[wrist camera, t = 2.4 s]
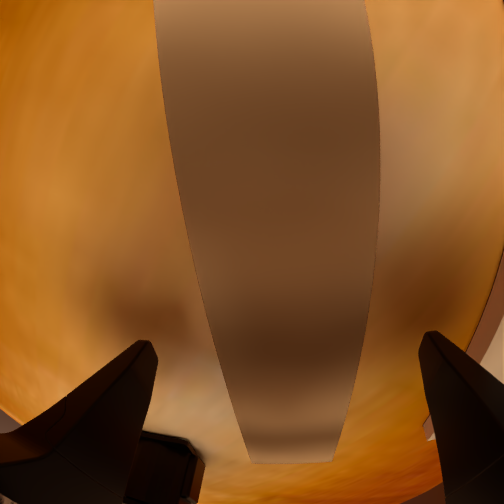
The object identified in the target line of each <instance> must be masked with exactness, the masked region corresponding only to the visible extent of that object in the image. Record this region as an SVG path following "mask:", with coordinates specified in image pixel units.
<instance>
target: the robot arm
mask: <svg viewBox="0 0 504 504" xmlns="http://www.w3.org/2000/svg"><path fill="white" fill-rule="evenodd" d="M418 356H419V361H420V367H421V372H422V378H423V384H424V391H425V396H426V400H427V404H428V408H429V412H430V416H431V420H432V424H433V429H434V433H435V438H436V443H437V448H438V453H439V459H440V465H441V471H442V477H443V484H444V492H445V497H446V498H445V501H446V504H504V384H503V383H502V382H500V381H499V380H498V379H497V378H496V377H494V376H493V375H492V374H491V373H490V372H488V371H487V370H486V369H485V368H484V367H482V366H481V365H480V364H479V363H477V362H476V361H475V360H474V359H473V358H471V357H470V356H469V355H468V354H466V353H465V352H464V351H463V350H461V349H460V348H459V347H457V346H456V345H455V344H454V343H452V342H451V341H450V340H449V339H447V338H446V337H445V336H443V335H442V334H441V333H440V332H438V331H428V332H426V333H425V334H424V336H423V339H422V342H421V345H420V347H419V351H418ZM157 366H158V357H157V355H156V352H155V350H154V348H153V345H152V343H151V342H150V341H148V340H138V341H136V342H135V343H134V344H132V345H131V346H130V347H129V348H127V349H126V350H125V351H123V352H122V353H121V354H119V355H118V356H117V357H116V358H114V359H113V360H112V361H110V362H109V363H108V364H107V365H105V366H104V367H103V368H101V369H100V370H99V371H97V372H96V373H95V374H94V375H92V376H91V377H90V378H88V379H87V380H86V381H85V382H83V383H82V384H81V385H79V386H78V387H77V388H75V389H74V390H73V391H72V392H70V393H69V394H68V395H67V397H66V396H65V397H64V398H62V399H61V400H60V401H59V402H57V403H56V404H54V405H53V406H52V407H50V408H49V409H48V410H46V411H45V412H43V413H42V414H40V415H38V416H37V417H35V418H34V419H32V420H30V421H29V422H27V423H26V424H24V425H22V426H21V427H19V428H18V429H16V430H14V431H11V432H9V433H2V434H1V433H0V504H197V503H198V499H199V494H200V489H201V484H202V480H203V475H204V470H205V465H204V463H203V462H202V461H201V459H200V458H199V456H198V455H197V454H196V452H195V451H194V449H193V448H192V446H191V445H190V443H189V442H187V441H185V440H182V439H176V438H170V437H164V436H159V435H154V434H149V433H144V432H141V431H142V428H143V424H144V421H145V418H146V414H147V411H148V408H149V404H150V401H151V396H152V391H153V386H154V381H155V376H156V371H157Z"/></svg>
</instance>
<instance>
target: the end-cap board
mask: <svg viewBox="0 0 504 504" xmlns="http://www.w3.org/2000/svg"><path fill="white" fill-rule="evenodd" d="M503 1H504V0H503ZM466 354H468V355H469V356H470V357H471V358H473V359H474V360H475V361H476V362H477V363H479V364H480V365H481V366H482V367H484V368H485V369H486V370H487V371H488V372H490V373H491V374H492V375H493V376H494V377H496V378H497V379H498V380H499V381H500V382H502V383H503V384H504V252H503V256H502V259H501V263H500V266H499V270H498V273H497V276H496V279H495V282H494V285H493V288H492V291H491V294H490V297H489V299H488V302H487V305H486V307H485V310H484V313H483V315H482V318H481V320H480V322H479V325H478V327H477V329H476V332H475V334H474V336H473V338H472V341H471V343H470V345H469V347H468V349H467V351H466ZM423 427H424V431H425V435H426V439H427V441H429V440H433V439H436V438H435V433H434V429H433V424H432V420H431V416H429V417H428V419H427V420H426V422H425V423H424V424H423Z"/></svg>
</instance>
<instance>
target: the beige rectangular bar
mask: <svg viewBox="0 0 504 504" xmlns="http://www.w3.org/2000/svg"><path fill="white" fill-rule="evenodd" d="M153 1H154V15H155V27H156V38H157V48H158V58H159V66H160V75H161V83H162V91H163V98H164V105H165V112H166V119H167V125H168V132H169V138H170V144H171V150H172V156H173V162H174V168H175V173H176V179H177V184H178V189H179V195H180V200H181V205H182V210H183V215H184V220H185V224H186V229H187V234H188V238H189V243H190V248H191V252H192V256H193V261H194V265H195V269H196V274H197V278H198V282H199V286H200V290H201V294H202V298H203V302H204V306H205V310H206V314H207V318H208V322H209V326H210V329H211V333H212V337H213V341H214V344H215V348H216V351H217V355H218V358H219V362H220V365H221V369H222V372H223V376H224V379H225V382H226V386H227V389H228V392H229V396H230V399H231V402H232V405H233V408H234V412H235V415H236V418H237V421H238V424H239V427H240V430H241V433H242V436H243V439H244V442H245V445H246V448H247V451H248V454H249V457H250V459H251V462H252V463H255V464H299V463H318V462H330V461H332V459H333V456H334V453H335V450H336V447H337V444H338V441H339V438H340V435H341V431H342V428H343V425H344V421H345V418H346V414H347V410H348V407H349V403H350V399H351V395H352V391H353V387H354V383H355V379H356V374H357V370H358V365H359V361H360V356H361V351H362V346H363V341H364V335H365V330H366V324H367V318H368V312H369V305H370V298H371V291H372V284H373V275H374V267H375V257H376V246H377V234H378V220H379V200H380V126H379V107H378V93H377V81H376V72H375V63H374V55H373V47H372V40H371V34H370V28H369V22H368V16H367V11H366V6H365V1H364V0H153Z"/></svg>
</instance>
